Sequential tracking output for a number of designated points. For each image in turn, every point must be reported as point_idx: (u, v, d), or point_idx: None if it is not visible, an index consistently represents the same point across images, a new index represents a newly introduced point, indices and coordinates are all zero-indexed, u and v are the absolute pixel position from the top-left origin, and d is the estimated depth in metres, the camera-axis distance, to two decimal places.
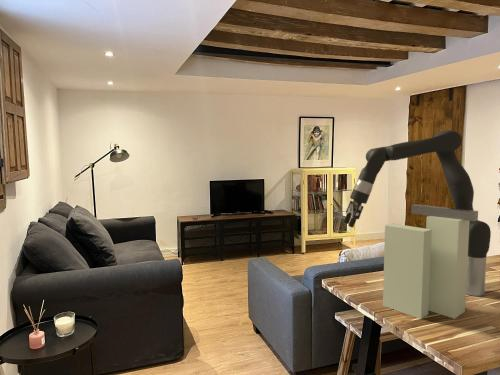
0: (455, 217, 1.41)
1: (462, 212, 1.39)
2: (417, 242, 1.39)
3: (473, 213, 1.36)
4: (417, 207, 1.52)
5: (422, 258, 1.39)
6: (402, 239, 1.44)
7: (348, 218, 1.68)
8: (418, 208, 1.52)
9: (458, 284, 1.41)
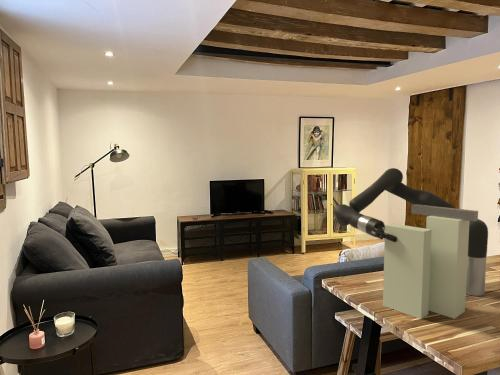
0: (455, 217, 1.41)
1: (462, 212, 1.39)
2: (417, 242, 1.39)
3: (473, 213, 1.36)
4: (417, 207, 1.52)
5: (422, 258, 1.39)
6: (402, 239, 1.44)
7: None
8: (418, 208, 1.52)
9: (458, 284, 1.41)
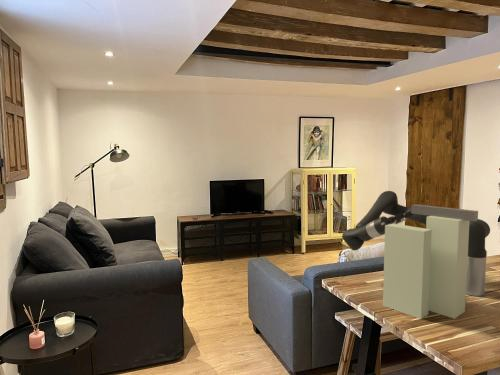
0: (455, 217, 1.41)
1: (462, 212, 1.39)
2: (417, 242, 1.39)
3: (473, 213, 1.36)
4: (417, 207, 1.52)
5: (422, 258, 1.39)
6: (402, 239, 1.44)
7: (408, 214, 1.61)
8: (418, 208, 1.52)
9: (458, 284, 1.41)
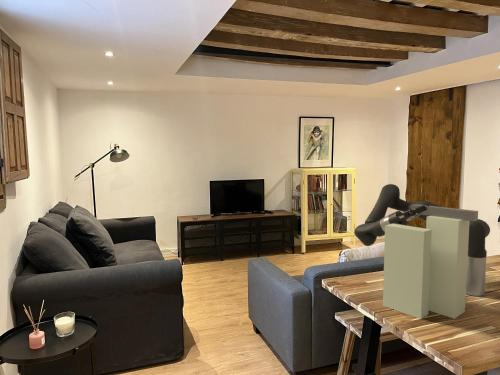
0: (455, 217, 1.41)
1: (462, 212, 1.39)
2: (417, 242, 1.39)
3: (473, 213, 1.36)
4: (417, 207, 1.52)
5: (422, 258, 1.39)
6: (402, 239, 1.44)
7: None
8: None
9: (458, 284, 1.41)
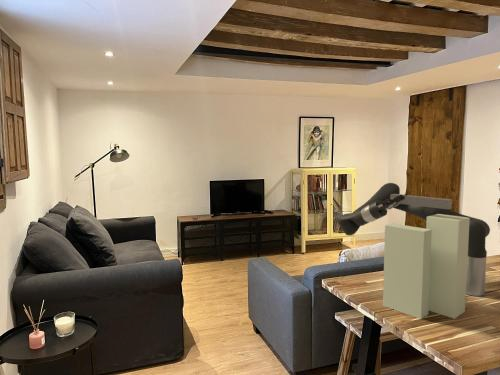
0: (430, 205, 1.45)
1: (437, 200, 1.43)
2: (417, 242, 1.39)
3: (447, 201, 1.40)
4: (395, 196, 1.57)
5: (422, 258, 1.39)
6: (402, 239, 1.44)
7: None
8: None
9: (458, 284, 1.41)
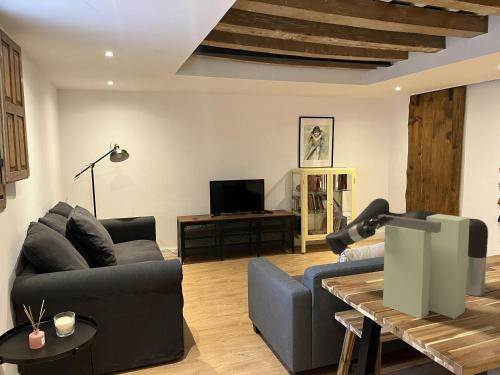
0: (419, 228, 1.40)
1: (425, 223, 1.38)
2: (417, 242, 1.39)
3: (435, 225, 1.35)
4: None
5: (422, 258, 1.39)
6: (402, 239, 1.44)
7: None
8: None
9: (458, 284, 1.41)
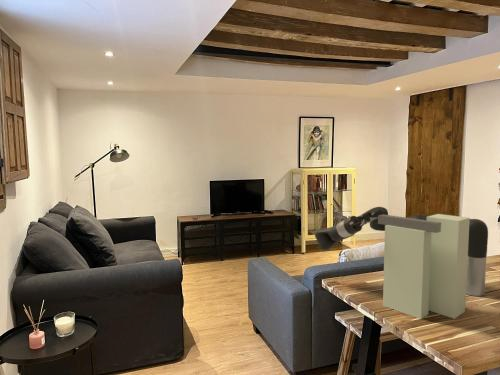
0: (419, 228, 1.40)
1: (425, 223, 1.38)
2: (417, 242, 1.39)
3: (435, 225, 1.35)
4: (383, 217, 1.51)
5: (422, 258, 1.39)
6: (402, 239, 1.44)
7: (377, 213, 1.60)
8: (384, 219, 1.51)
9: (458, 284, 1.41)
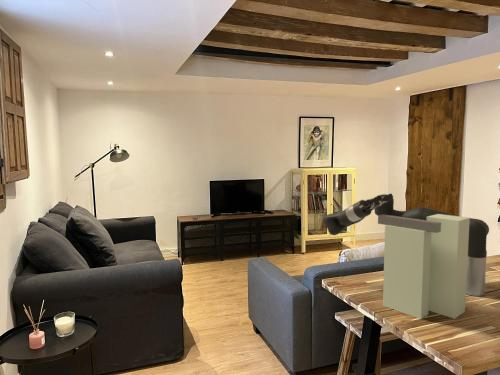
0: (419, 228, 1.40)
1: (425, 223, 1.38)
2: (417, 242, 1.39)
3: (435, 225, 1.35)
4: (383, 217, 1.51)
5: (422, 258, 1.39)
6: (402, 239, 1.44)
7: (386, 197, 1.61)
8: (384, 219, 1.51)
9: (458, 284, 1.41)
